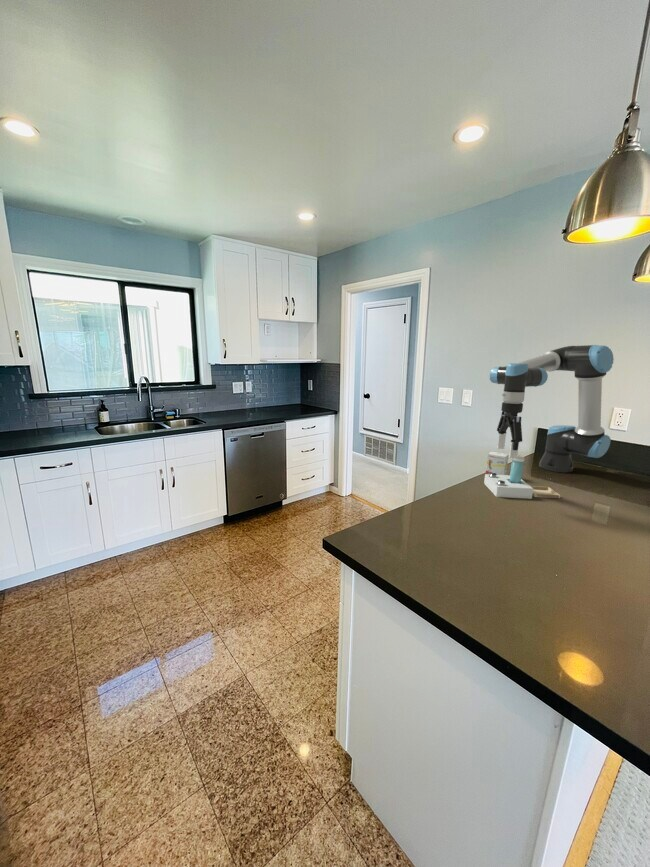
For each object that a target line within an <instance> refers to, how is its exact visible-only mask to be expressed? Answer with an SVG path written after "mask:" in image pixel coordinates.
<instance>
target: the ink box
mask: <svg viewBox="0 0 650 867" xmlns="http://www.w3.org/2000/svg"><path fill="white" fill-rule="evenodd" d="M486 459H487V460H486V467H485V474H490V473H496V474H497V475H507V471H508V470H507V469H508V462H509V454H508V453H502V452H496V451H490V452H488V453H487V458H486Z"/></svg>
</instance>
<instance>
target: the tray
mask: <svg viewBox="0 0 650 867" xmlns="http://www.w3.org/2000/svg"><path fill="white" fill-rule="evenodd" d="M530 486H531V487H532V488H533V494H532V497H534V498H542V499H543V498H545V499H547V498H548V499H561V494H559V493H558V492H557V491H555V490H554V489H552V488H551V487H549V486H542V485H541V486H539V485H538V486H537V485H536V486H535V485H530Z"/></svg>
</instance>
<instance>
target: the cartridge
mask: <svg viewBox="0 0 650 867" xmlns="http://www.w3.org/2000/svg"><path fill="white" fill-rule="evenodd" d="M525 460H526V458H525V456H524V455H517V458H511V465H510V473H509V475H510V480H509V482H510V483H517V484H521V479H522V477H523V469H524V462H525Z"/></svg>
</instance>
